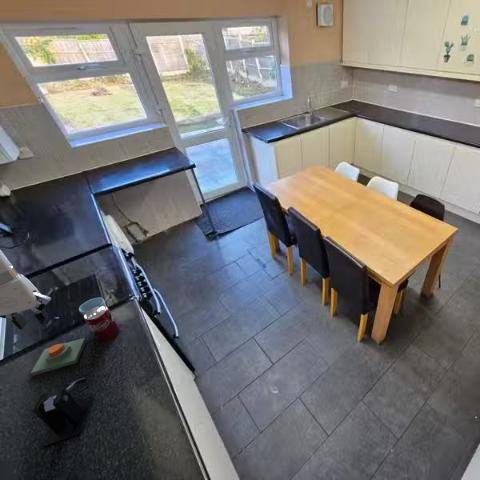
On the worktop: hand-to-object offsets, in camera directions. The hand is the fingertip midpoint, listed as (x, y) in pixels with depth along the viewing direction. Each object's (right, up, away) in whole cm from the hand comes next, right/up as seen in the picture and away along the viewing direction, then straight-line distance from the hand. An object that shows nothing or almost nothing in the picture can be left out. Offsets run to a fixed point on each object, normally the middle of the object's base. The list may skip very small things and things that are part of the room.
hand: (34, 322), depth 85 cm
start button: (+1, -12, +7) cm, 14 cm away
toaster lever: (+19, -17, -10) cm, 28 cm away
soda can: (+11, -10, +17) cm, 22 cm away
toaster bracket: (+21, -25, -10) cm, 34 cm away
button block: (+1, -15, +9) cm, 17 cm away
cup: (+4, -7, +22) cm, 24 cm away
